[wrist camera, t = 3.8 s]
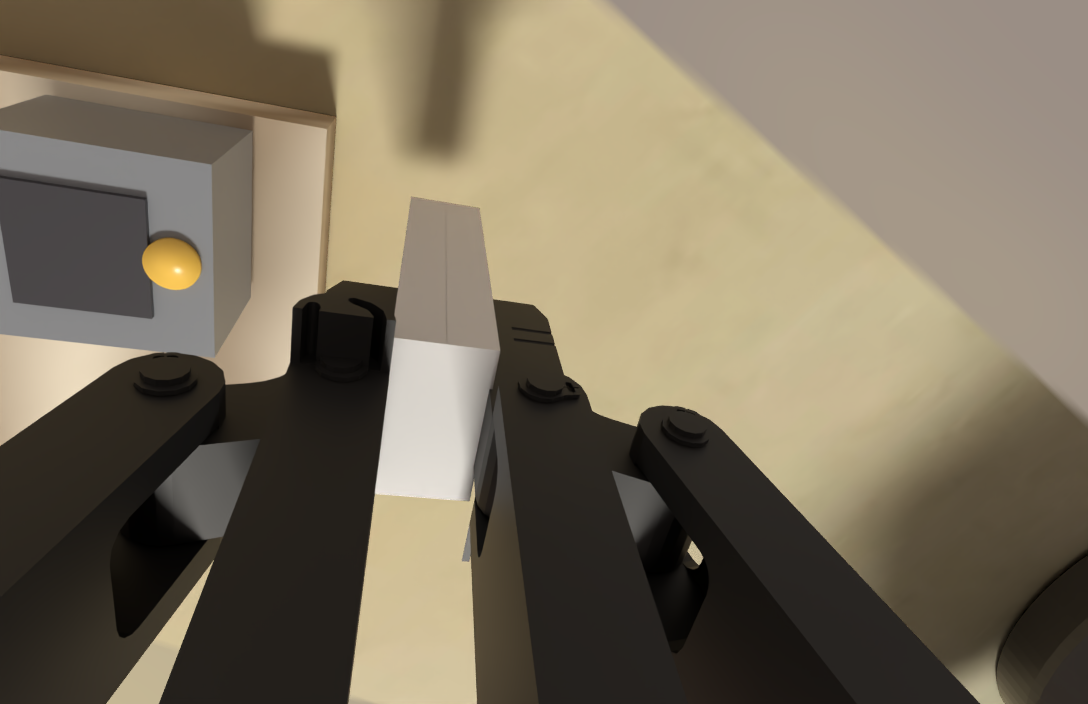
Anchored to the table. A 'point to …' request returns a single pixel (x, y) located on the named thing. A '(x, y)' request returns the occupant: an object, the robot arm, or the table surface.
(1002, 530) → the table surface
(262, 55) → the table surface
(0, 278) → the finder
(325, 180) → the plank
